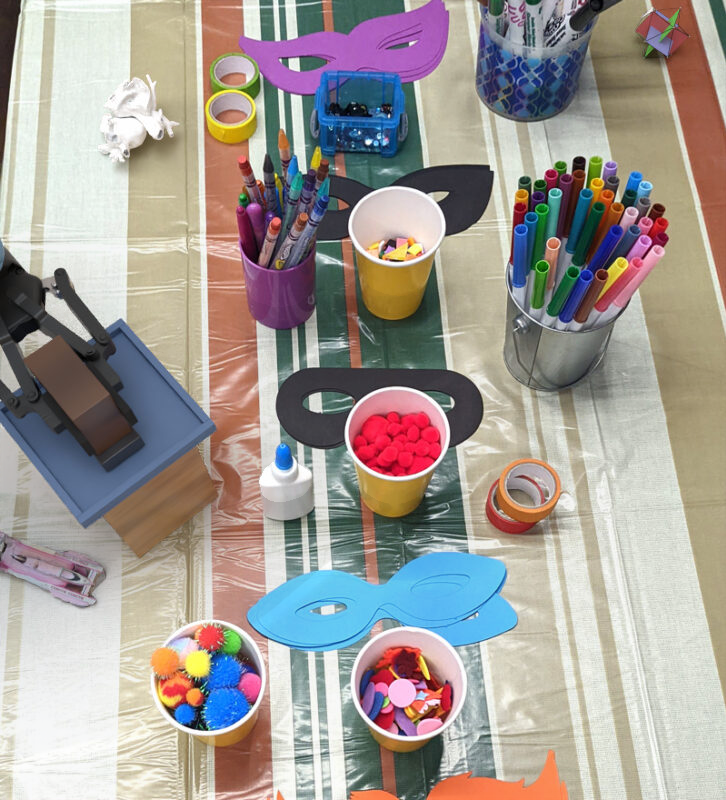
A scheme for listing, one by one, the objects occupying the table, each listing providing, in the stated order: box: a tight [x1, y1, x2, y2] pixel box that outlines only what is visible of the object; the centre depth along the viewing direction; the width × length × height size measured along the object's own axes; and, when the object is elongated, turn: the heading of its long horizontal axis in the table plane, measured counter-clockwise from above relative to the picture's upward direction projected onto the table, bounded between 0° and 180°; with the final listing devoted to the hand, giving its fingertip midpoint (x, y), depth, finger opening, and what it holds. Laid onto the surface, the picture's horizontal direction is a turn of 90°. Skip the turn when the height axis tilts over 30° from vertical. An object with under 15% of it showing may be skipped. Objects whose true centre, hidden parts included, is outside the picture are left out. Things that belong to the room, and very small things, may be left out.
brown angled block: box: [23, 335, 145, 472], centre depth 84 cm, size 10×5×10 cm, turn 41°
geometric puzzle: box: [634, 6, 691, 59], centre depth 131 cm, size 7×7×8 cm
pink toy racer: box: [0, 530, 106, 609], centre depth 102 cm, size 13×6×4 cm, turn 72°
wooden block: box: [102, 445, 220, 559], centre depth 99 cm, size 12×12×20 cm
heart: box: [97, 74, 180, 164], centre depth 125 cm, size 12×7×12 cm
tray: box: [0, 317, 218, 530], centre depth 89 cm, size 16×16×2 cm
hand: (110, 432), depth 80 cm, fingers closed on brown angled block, 4 cm apart
